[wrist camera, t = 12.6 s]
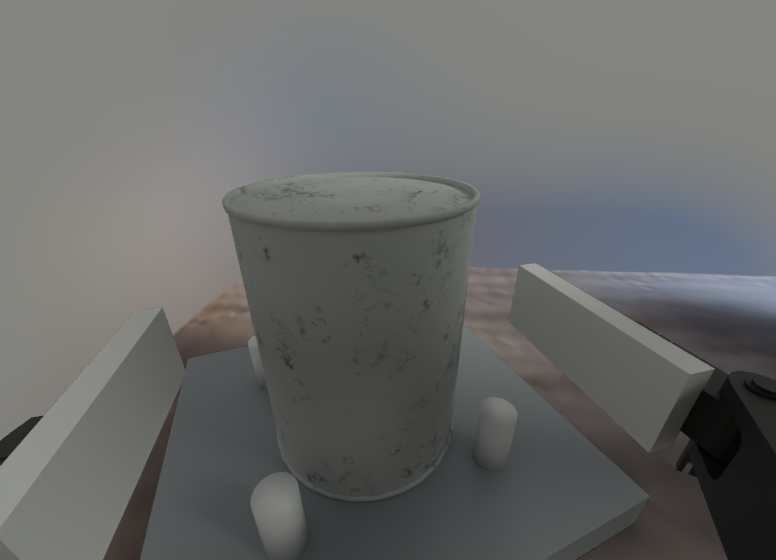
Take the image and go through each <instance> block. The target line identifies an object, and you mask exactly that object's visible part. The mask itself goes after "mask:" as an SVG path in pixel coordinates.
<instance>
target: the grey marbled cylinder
mask: <svg viewBox="0 0 776 560" xmlns="http://www.w3.org/2000/svg"><path fill="white" fill-rule="evenodd" d="M479 201H480V194H479V191H478V189H476V188H475V187H473V186H471V185H470V184H467V183H464V182H461V181H458V180H453V179H449V178H443V177H437V176H430V175H421V174H410V173H392V172H342V173H323V174H310V175H300V176H292V177H284V178H279V179H272V180H266V181H262V182H257V183H253V184H250V185H246V186H243V187H240V188H237V189H235V190H233V191H231V192H229V193H227V194H226V196H225V197H224V198H223V200H222V203H223V207H224V209H225V211H226V213H228V216H229V221H230V225H231V229H232V234H233V238H234V242H235V247H236V251H237V255H238V260H239V265H240V269H241V273H242V278H243V283H244V287H245V291H246V296H247V300H248V305H249V309H250V313H251V318H252V322H253V327H254V331H255V336H256V340H257V344H258V349H259V353H260V358H261V362H262V366H263V371H264V375H265V380H266V384H267V389H268V393H269V397H270V402H271V406H272V411H273V415H274V419H275V424H276V428H277V442H278V445H279V449H280V452H281V456H282V459H283V461H284V462H285V464H286V465H287V467H288V468H289V470H290V472H291V473H292V475H293V476H294V477H296V478H297V479H298V480H299V481H300V482H302V483H303V484H304V485H305V486H306V487H308V488H309V489H310V490H313V491H315V492H317V493H319V494H321V495H324V496H326V497H328V498H330V499H336V500H342V501H348V502H354V503H355V502H370V501H380V500H383V499H387V498H390V497H393V496H396V495H399V494H402V493H404V492H406V491H408V490H409V489H411V488H413V487H414V486H416V485H418V484H419V483H421V482H423V481H424V480H425V479H426V478H427V477H428V476H429V475H430V474H431V473H432V472H433V471H434V470H435V469H436V468H437V467H438V465H439V464H440V462H441V460H442V459H443V457H444V455H445V453H446V452H447V450H448V448H449V444H450V440H451V436H452V432H453V408H454V399H455V391H456V382H457V373H458V364H459V356H460V347H461V338H462V330H463V321H464V312H465V303H466V295H467V286H468V277H469V269H470V260H471V251H472V242H473V234H474V225H475V216H476V208H477V204H478V203H479Z"/></svg>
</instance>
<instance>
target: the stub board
mask: <svg viewBox="0 0 776 560" xmlns="http://www.w3.org/2000/svg"><path fill="white" fill-rule="evenodd" d="M185 371H186V375H185V377H184V379H183V381H182V385H181V390H180V394H179V398H178V402H177V406H176V410H175V415H174V419H173V423H172V427H171V431H170V435H169V440H168V444H167V448H166V452H165V456H164V460H163V465H162V469H161V473H160V477H159V481H158V486H157V490H156V494H155V498H154V502H153V506H152V511H151V515H150V519H149V523H148V527H147V531H146V536H145V540H144V544H143V548H142V552H141V557H140V560H576V559H577V558H579V557H580V556H582V555H584V554H585V553H587V552H589V551H590V550H592V549H593V548H595V547H597V546H598V545H600V544H601V543H603V542H605V541H606V540H608V539H610V538H611V537H613V536H614V535H616V534H618V533H619V532H621V531H622V530H624V529H626V528H627V527H629V526H631V525H632V524H634V523H635V522H636V520H637V519H638V517H639V515H640V513H641V512H642V510H643V508H644V507H645V505H646V503H647V501H648V500H649V498H650V496H649V495H648V494H647V493H646V492H645V491H644V490H643V489H642V488H641V487H640V486H638V485H637V484H636V483H635V482H634V481H633V480H632V479H631V478H630V477H629V476H628V475H626V474H625V473H624V472H623V471H622V470H621V469H620V468H619V467H618V466H617V465H616V464H615V463H613V462H612V461H611V460H610V459H609V458H608V457H607V456H606V455H605V454H604V453H603V452H601V451H600V450H599V449H598V448H597V447H596V446H595V445H594V444H593V443H592V442H591V441H590V440H588V439H587V438H586V437H585V436H584V435H583V434H582V433H581V432H580V431H579V430H578V429H576V428H575V427H574V426H573V425H572V424H571V423H570V422H569V421H568V420H567V419H566V418H565V417H563V416H562V415H561V414H560V413H559V412H558V411H557V410H556V409H555V408H554V407H553V406H551V405H550V404H549V403H548V402H547V401H546V400H545V399H544V398H543V397H542V396H541V395H540V394H538V393H537V392H536V391H535V390H534V389H533V388H532V387H531V386H530V385H529V384H528V383H526V382H525V381H524V380H523V379H522V378H521V377H520V376H519V375H518V374H517V373H516V372H515V371H513V370H512V369H511V368H510V367H509V366H508V365H507V364H506V363H505V362H504V361H503V360H501V359H500V358H499V357H498V356H497V355H496V354H495V353H494V352H493V351H492V350H491V349H489V348H488V347H487V346H486V345H485V344H484V343H483V342H482V341H481V340H480V339H479V338H478V337H476V336H475V335H474V334H473V333H472V332H471V331H470V330H469V329H468V328H467V327H466V326H464V325H463V330H462V338H461V347H460V356H459V364H458V373H457V382H456V391H455V399H454V408H453V432H452V436H451V440H450V444H449V448H448V450H447V452H446V453H445V455H444V457H443V459H442V460H441V462H440V464H439V465H438V467H437V468H436V469H435V470H434V471H433V472H432V473H431V474H430V475H429V476H428V477H427V478H426V479H425V480H424V481H423V482H421V483H419V484H418V485H416V486H414V487H413V488H411V489H409V490H408V491H406V492H404V493H402V494H399V495H396V496H393V497H390V498H387V499H383V500H380V501H370V502H355V503H354V502H348V501H342V500H336V499H330V498H328V497H326V496H324V495H321V494H319V493H317V492H315V491H313V490H310V489H309V488H308V487H306V486H305V485H304V484H303V483H302V482H300V481H299V480H298V479H297V478H296V477H294V476H293V475H292V473H291V472H290V470H289V468H288V467H287V465H286V464H285V462H284V461H283V459H282V456H281V452H280V449H279V445H278V442H277V428H276V424H275V419H274V415H273V411H272V406H271V402H270V397H269V393H268V389H267V384H266V380H265V375H264V371H263V366H262V362H261V358H260V353H259V349H258V344H257V340H256V336H255V335H254V336H253V337H251V338H250V339H249V341H248V346H243V347H239V348H234V349H230V350H225V351H220V352H216V353H211V354H207V355H202V356H198V357H193V358H189V359H188V360H187V364H186V369H185Z"/></svg>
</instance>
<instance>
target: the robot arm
mask: <svg viewBox="0 0 776 560" xmlns="http://www.w3.org/2000/svg"><path fill="white" fill-rule="evenodd" d="M509 322H510V323H511V324H512V325H513V326H514V327H515V328H516V329H517V330H518V331H519V332H520V333H522V334H523V335H524V336H525V337H526V338H527V339H528V340H529V341H530V342H531V343H532V344H533V345H534V346H535V347H536V348H538V349H539V350H540V351H541V352H542V353H543V354H544V355H545V356H546V357H547V358H548V359H549V360H550V361H551V362H552V363H554V364H555V365H556V366H557V367H558V368H559V369H560V370H561V371H562V372H563V373H564V374H565V375H566V376H567V377H568V378H570V379H571V380H572V381H573V382H574V383H575V384H576V385H577V386H578V387H579V388H580V389H581V390H582V391H583V392H584V393H586V394H587V395H588V396H589V397H590V398H591V399H592V400H593V401H594V402H595V403H596V404H597V405H598V406H599V407H600V408H602V409H603V410H604V411H605V412H606V413H607V414H608V415H609V416H610V417H611V418H612V419H613V420H614V421H615V422H616V423H618V424H619V425H620V426H621V427H622V428H623V429H624V430H625V431H626V432H627V433H628V434H629V435H630V436H631V437H632V438H634V439H635V440H636V441H637V442H638V443H639V444H640V445H641V446H642V447H643V448H644V449H645V450H646V451H647V452H648V453H652V452H655V451H659V450H662V449H666V448H669V447H671V446H672V445H673V443H674V441H675V439H676V438H677V436H678V434H679V432H680V431H682V432H683V433H684V434H685V435H687V436H688V437H689V438H690V441H689V443H688V445H687V446H686V448H685V450H684V451H683V453H682V455H681V456H680V458H679V460H678V461H677V463H676V469H677V470H678V471H681V472H682V470H683V469H684V467H685V466H686V464H687V462H690V463H692V465H693V467H692V468H691V470H690V472H689V474H690V475H693V476H696V477H697V478H698V481H699V483H700V486H701V489H702V492H703V494H704V497H705V500H706V502H707V505H708V508H709V510H710V513H711V516H712V518H713V521H714V524H715V526H716V529H717V532H718V534H719V537H720V540H721V542H722V545H723V548H724V551H725V553H726V556H727V559H728V560H776V381H775V380H773V379H770V378H768V377H765V376H762V375H758V374H755V373H751V372H743V371H737V372H731V373H730V374H727V373H725V372H723V371H722V370H720V369H718V368H716V367H715V366H713V365H711V364H710V363H708V362H706V361H704V360H703V359H701V358H699V357H697V356H696V355H694V354H692V353H691V352H689V351H687V350H685V349H684V348H682V347H680V346H679V345H677V344H675V343H671V342H670V340H668V339H667V338H665V337H663V336H661V335H657V333H656V332H655V331H653V330H651V329H649V328H648V327H646V326H644V325H643V324H641V323H638V322H636V321H633V320H631V319H629V318H628V317H626V316H624V315H622V314H621V313H619V312H617V311H616V310H614V309H612V308H611V307H609V306H607V305H605V304H604V303H602V302H600V301H599V300H597V299H595V298H594V297H592V296H590V295H588V294H587V293H585V292H583V291H582V290H580V289H578V288H577V287H575V286H573V285H571V284H570V283H568V282H566V281H565V280H563V279H561V278H559V277H558V276H556V275H554V274H553V273H551V272H549V271H548V270H546V269H544V268H542V267H540V266H539V265H537V264H527V265H519V270H518V276H517V281H516V286H515V292H514V297H513V303H512V308H511V313H510V319H509ZM185 375H186V371H185V368H184V365H183V362H182V360H181V357H180V354H179V351H178V349H177V346H176V343H175V340H174V338H173V335H172V332H171V329H170V327H169V324H168V321H167V318H166V316H165V313H164V310H163V308H162V307H160V308H151V309H143V310H135V312H134V313H133V314H132V315H131V316H130V317H129V318H128V320H127V321H126V322H125V323H124V324H123V325H122V327H121V328H120V329H119V330H118V331H117V332H116V334H115V335H114V336H113V337H112V338H111V339H110V340H109V342H108V343H107V344H106V345H105V346H104V347H103V348H102V350H101V351H100V352H99V353H98V354H97V355H96V357H95V358H94V359H93V360H92V361H91V362H90V363H89V365H88V366H87V367H86V368H85V369H84V370H83V372H82V373H81V374H80V375H79V376H78V377H77V378H76V380H75V381H74V382H73V383H72V384H71V385H70V386H69V388H68V389H67V390H66V391H65V392H64V393H63V395H62V396H61V397H60V398H59V399H58V400H57V402H56V403H55V404H54V405H53V406H52V407H51V408H50V409H49V411H48V412H47V413H46V414H45V415H44V416H38V417H33V418H30V419H29V420H28V421H26V422H25V423H24V424H22V425H21V426H19V427H18V428H17V429H15V430H14V431H12V432H11V433H10V434H9V435H7V436H6V437H4V438H3V439H2V440H1V441H0V560H103V559H104V556H105V554H106V552H107V550H108V547H109V545H110V543H111V541H112V538H113V536H114V534H115V532H116V529H117V527H118V525H119V523H120V520H121V518H122V516H123V514H124V511H125V509H126V507H127V505H128V502H129V500H130V498H131V496H132V494H133V491H134V489H135V487H136V485H137V482H138V480H139V478H140V476H141V473H142V471H143V469H144V467H145V464H146V462H147V460H148V458H149V455H150V453H151V451H152V449H153V446H154V444H155V442H156V440H157V437H158V435H159V433H160V431H161V429H162V426H163V424H164V422H165V420H166V417H167V415H168V413H169V411H170V408H171V406H172V404H173V402H174V399H175V397H176V395H177V393H178V390H179V388H180V386H181V384H182V381H183V379H184V377H185Z"/></svg>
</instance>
